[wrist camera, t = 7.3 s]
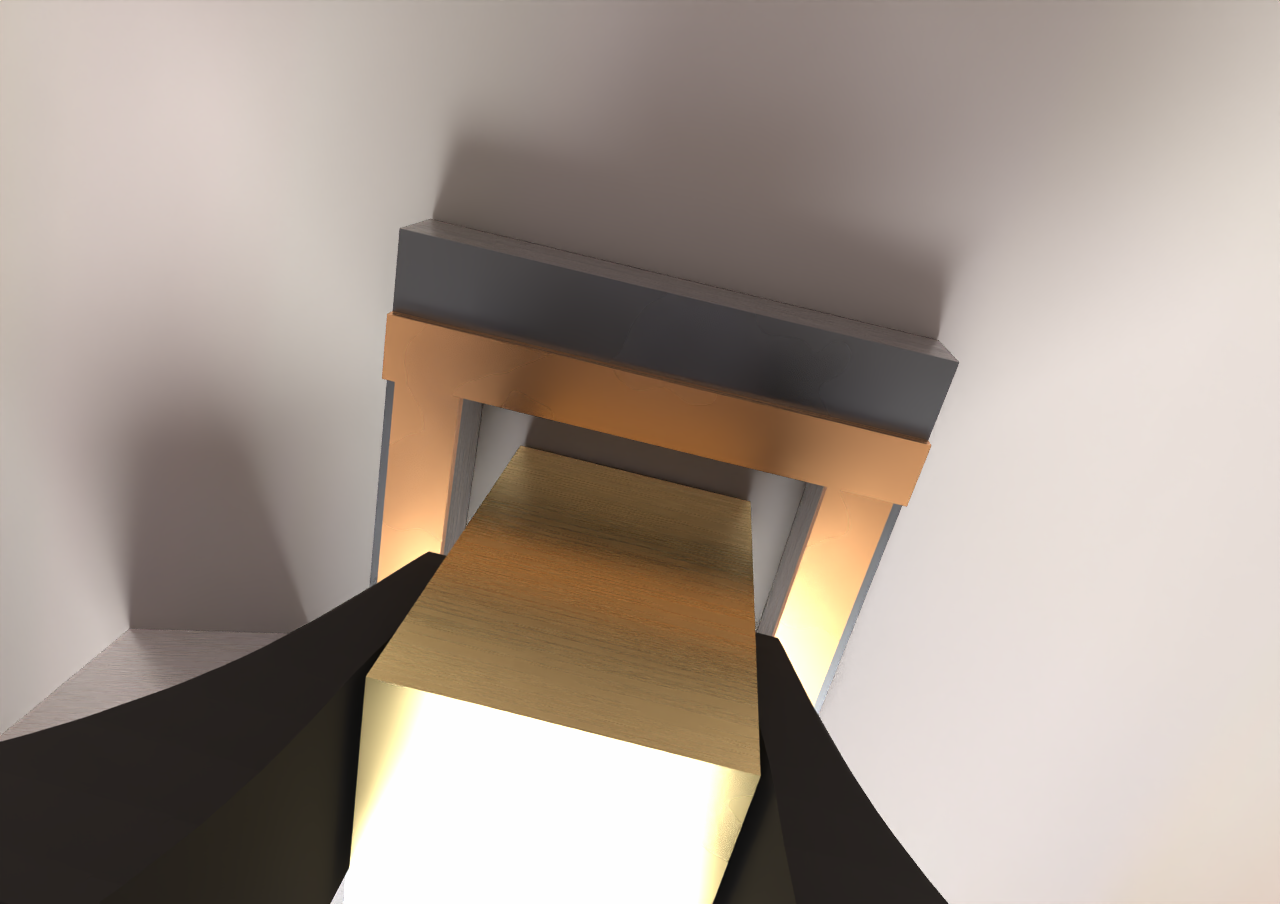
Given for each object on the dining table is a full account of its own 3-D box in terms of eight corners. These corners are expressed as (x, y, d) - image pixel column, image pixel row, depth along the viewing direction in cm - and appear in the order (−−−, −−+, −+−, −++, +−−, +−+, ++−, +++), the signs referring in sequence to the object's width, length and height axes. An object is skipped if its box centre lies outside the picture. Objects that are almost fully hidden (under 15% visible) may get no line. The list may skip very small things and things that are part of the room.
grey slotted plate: (348, 1048, 21) (323, 1109, 20) (430, 218, 12) (393, 229, 11) (637, 1124, 21) (631, 1191, 19) (938, 340, 12) (962, 366, 10)
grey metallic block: (183, 775, 18) (-70, 1073, 12) (129, 628, 16) (-188, 891, 10) (350, 785, 17) (166, 1100, 12) (312, 633, 15) (79, 913, 10)
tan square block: (489, 633, 15) (342, 935, 9) (520, 445, 13) (365, 676, 8) (693, 684, 15) (668, 1020, 9) (750, 501, 13) (760, 776, 8)
